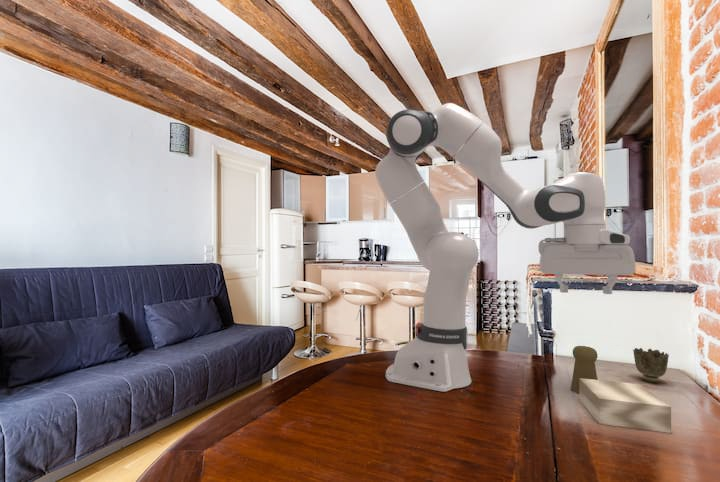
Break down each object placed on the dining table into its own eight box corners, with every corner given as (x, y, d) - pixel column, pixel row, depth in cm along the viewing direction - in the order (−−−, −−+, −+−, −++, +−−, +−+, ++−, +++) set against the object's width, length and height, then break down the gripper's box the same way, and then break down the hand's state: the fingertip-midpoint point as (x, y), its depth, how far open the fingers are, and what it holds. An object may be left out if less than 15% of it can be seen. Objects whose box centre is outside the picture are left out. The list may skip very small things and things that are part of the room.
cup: (638, 383, 93) (638, 353, 93) (629, 374, 100) (629, 346, 100) (674, 388, 90) (673, 356, 91) (662, 378, 97) (661, 349, 97)
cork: (604, 397, 83) (604, 351, 84) (576, 395, 85) (576, 349, 85) (593, 388, 89) (592, 344, 90) (566, 386, 91) (566, 342, 91)
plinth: (599, 423, 70) (599, 398, 71) (579, 399, 82) (579, 378, 82) (671, 433, 67) (671, 406, 67) (639, 406, 79) (639, 384, 79)
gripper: (540, 237, 88) (541, 292, 88) (638, 236, 82) (639, 296, 81) (536, 238, 94) (536, 290, 94) (626, 237, 88) (627, 293, 88)
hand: (585, 293), depth 87 cm, fingers open, 8 cm apart
